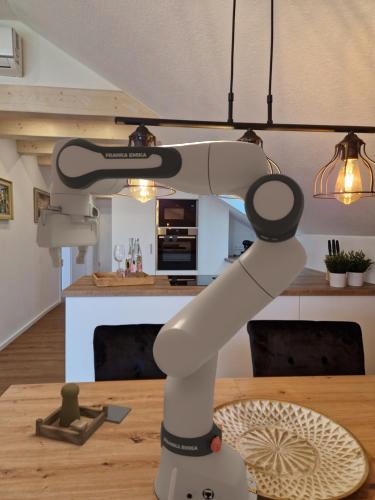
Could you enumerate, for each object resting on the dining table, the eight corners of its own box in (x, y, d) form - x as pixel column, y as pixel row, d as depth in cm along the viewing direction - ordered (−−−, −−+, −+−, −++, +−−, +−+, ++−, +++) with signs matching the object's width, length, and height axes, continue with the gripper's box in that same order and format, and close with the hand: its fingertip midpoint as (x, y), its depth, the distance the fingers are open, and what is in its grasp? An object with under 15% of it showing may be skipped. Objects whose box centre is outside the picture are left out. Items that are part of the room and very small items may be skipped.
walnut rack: (107, 418, 98) (108, 405, 98) (83, 444, 86) (83, 430, 85) (65, 410, 102) (65, 397, 102) (35, 434, 89) (35, 420, 89)
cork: (66, 414, 99) (66, 379, 99) (84, 417, 98) (85, 381, 98) (54, 426, 94) (54, 388, 93) (73, 429, 92) (74, 391, 92)
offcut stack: (89, 432, 91) (89, 420, 91) (81, 440, 87) (81, 427, 87) (74, 429, 92) (74, 417, 92) (66, 437, 88) (66, 424, 88)
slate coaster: (131, 409, 103) (131, 407, 103) (119, 423, 96) (119, 421, 96) (108, 405, 105) (108, 403, 105) (95, 419, 98) (95, 417, 98)
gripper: (54, 204, 68) (54, 270, 68) (102, 211, 88) (101, 263, 88) (28, 203, 69) (28, 268, 70) (81, 211, 89) (81, 262, 90)
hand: (69, 265), depth 79 cm, fingers open, 8 cm apart
